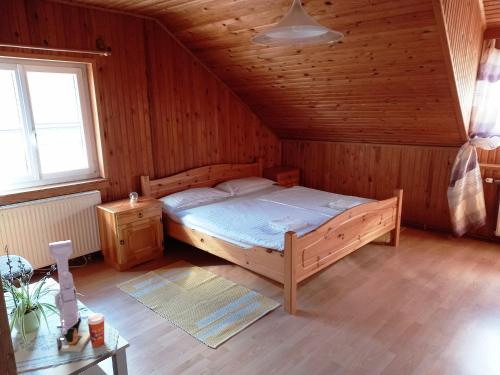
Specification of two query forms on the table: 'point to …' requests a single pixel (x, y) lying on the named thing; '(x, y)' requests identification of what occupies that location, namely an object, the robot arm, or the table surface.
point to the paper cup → (96, 329)
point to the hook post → (59, 343)
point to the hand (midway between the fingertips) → (72, 338)
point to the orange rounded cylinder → (74, 338)
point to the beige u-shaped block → (80, 345)
